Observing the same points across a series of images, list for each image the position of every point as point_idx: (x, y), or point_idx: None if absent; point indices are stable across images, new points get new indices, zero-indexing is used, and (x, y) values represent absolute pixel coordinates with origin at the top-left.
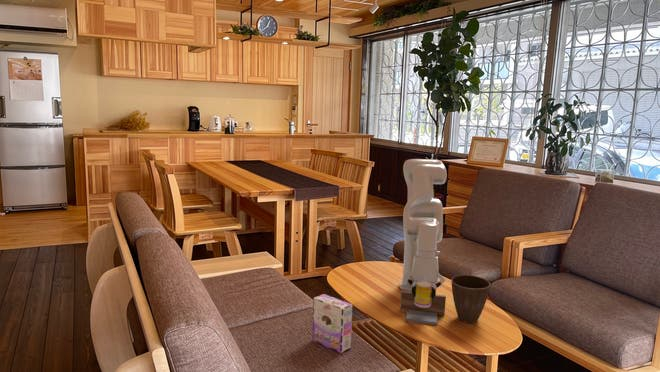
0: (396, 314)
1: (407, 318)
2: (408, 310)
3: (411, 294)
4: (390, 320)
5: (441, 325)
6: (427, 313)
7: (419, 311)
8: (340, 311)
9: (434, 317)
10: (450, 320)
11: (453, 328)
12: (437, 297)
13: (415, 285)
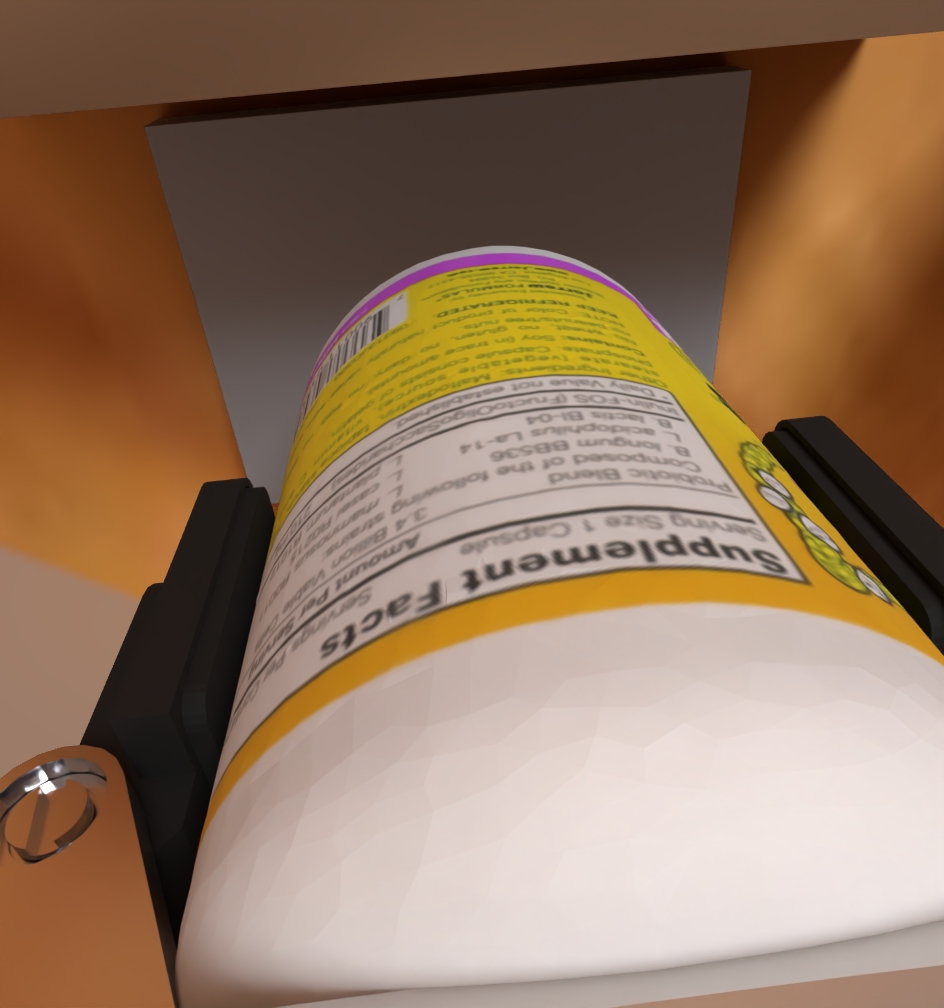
0: (23, 293)
1: (269, 493)
2: (181, 173)
3: (76, 109)
4: (48, 520)
5: (748, 416)
6: (559, 182)
7: (400, 138)
8: None
9: (677, 309)
10: (929, 193)
11: (892, 442)
12: (940, 29)
13: (201, 742)
